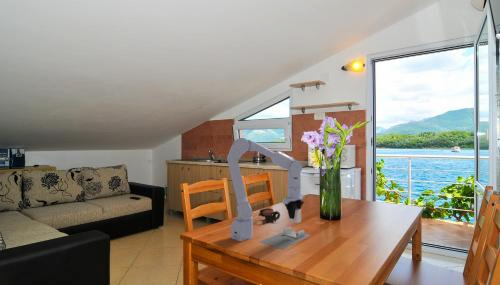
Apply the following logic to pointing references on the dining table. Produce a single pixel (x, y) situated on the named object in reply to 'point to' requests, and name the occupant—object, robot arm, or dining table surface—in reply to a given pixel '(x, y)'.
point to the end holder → (293, 233)
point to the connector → (296, 216)
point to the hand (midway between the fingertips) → (293, 217)
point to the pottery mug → (269, 215)
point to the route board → (282, 240)
